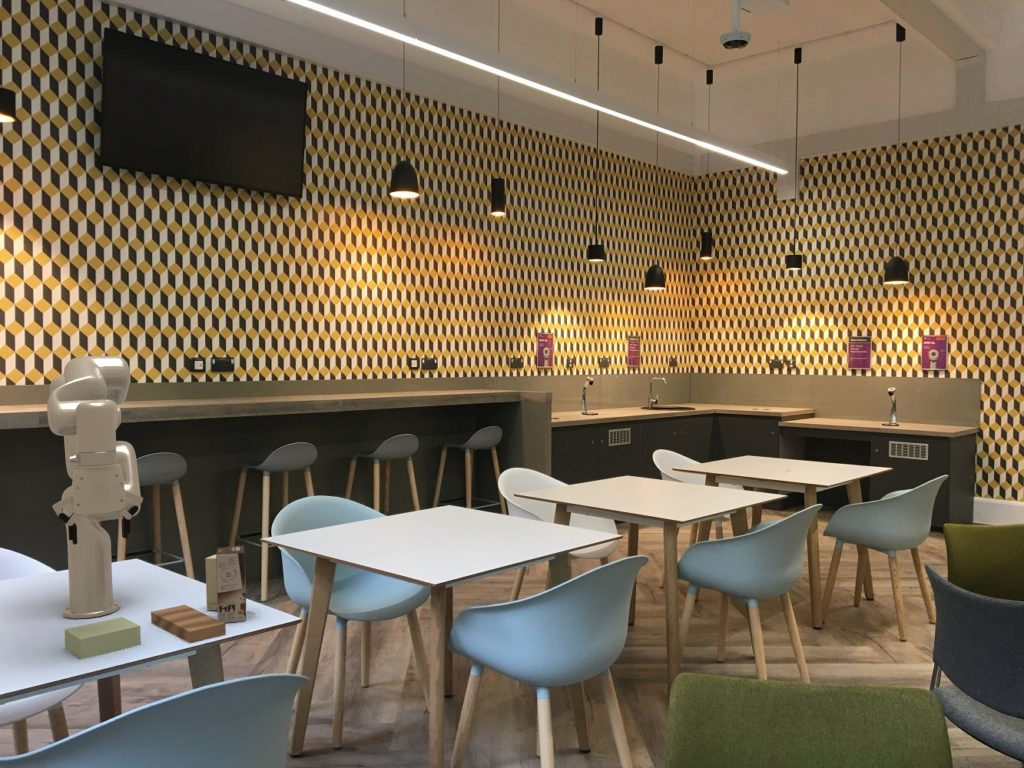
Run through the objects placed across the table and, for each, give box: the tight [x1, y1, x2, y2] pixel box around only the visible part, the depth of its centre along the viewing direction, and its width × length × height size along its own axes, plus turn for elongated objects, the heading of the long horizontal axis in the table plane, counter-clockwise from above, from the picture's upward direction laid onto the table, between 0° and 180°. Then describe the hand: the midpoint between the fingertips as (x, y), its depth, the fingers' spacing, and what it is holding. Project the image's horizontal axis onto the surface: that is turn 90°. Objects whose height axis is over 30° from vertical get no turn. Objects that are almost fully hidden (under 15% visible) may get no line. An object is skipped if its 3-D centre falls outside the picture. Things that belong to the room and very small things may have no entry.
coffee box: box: [215, 545, 247, 624], centre depth 205 cm, size 9×6×16 cm
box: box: [204, 554, 218, 611], centre depth 213 cm, size 5×4×13 cm
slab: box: [63, 616, 142, 660], centre depth 185 cm, size 10×12×4 cm
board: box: [150, 604, 227, 644], centre depth 197 cm, size 22×8×3 cm, turn 43°
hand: (100, 540), depth 184 cm, fingers open, 9 cm apart
